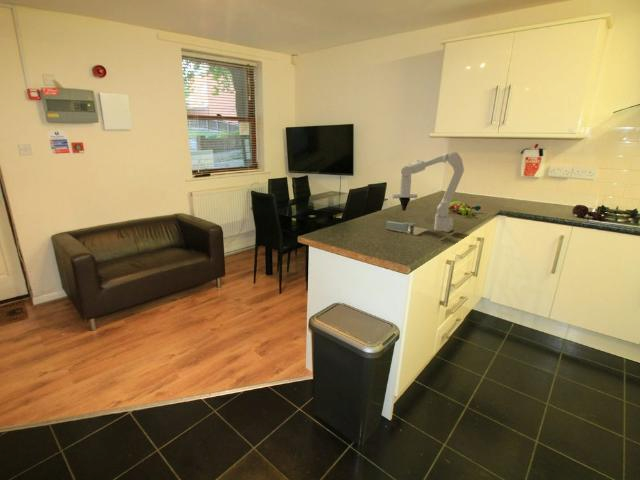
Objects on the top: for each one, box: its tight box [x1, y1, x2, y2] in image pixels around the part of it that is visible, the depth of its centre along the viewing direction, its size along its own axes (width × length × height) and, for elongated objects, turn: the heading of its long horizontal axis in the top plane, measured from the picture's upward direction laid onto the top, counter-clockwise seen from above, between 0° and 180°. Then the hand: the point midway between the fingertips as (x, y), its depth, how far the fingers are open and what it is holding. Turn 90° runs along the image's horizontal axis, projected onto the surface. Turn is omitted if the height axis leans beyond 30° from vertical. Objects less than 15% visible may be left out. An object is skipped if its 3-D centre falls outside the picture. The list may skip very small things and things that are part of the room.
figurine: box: [571, 204, 607, 222], centre depth 223 cm, size 10×8×18 cm
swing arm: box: [385, 220, 417, 231], centre depth 189 cm, size 16×4×4 cm, turn 58°
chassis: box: [388, 225, 429, 236], centre depth 193 cm, size 18×15×5 cm
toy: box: [449, 200, 482, 218], centre depth 239 cm, size 24×28×8 cm
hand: (403, 210), depth 198 cm, fingers closed
